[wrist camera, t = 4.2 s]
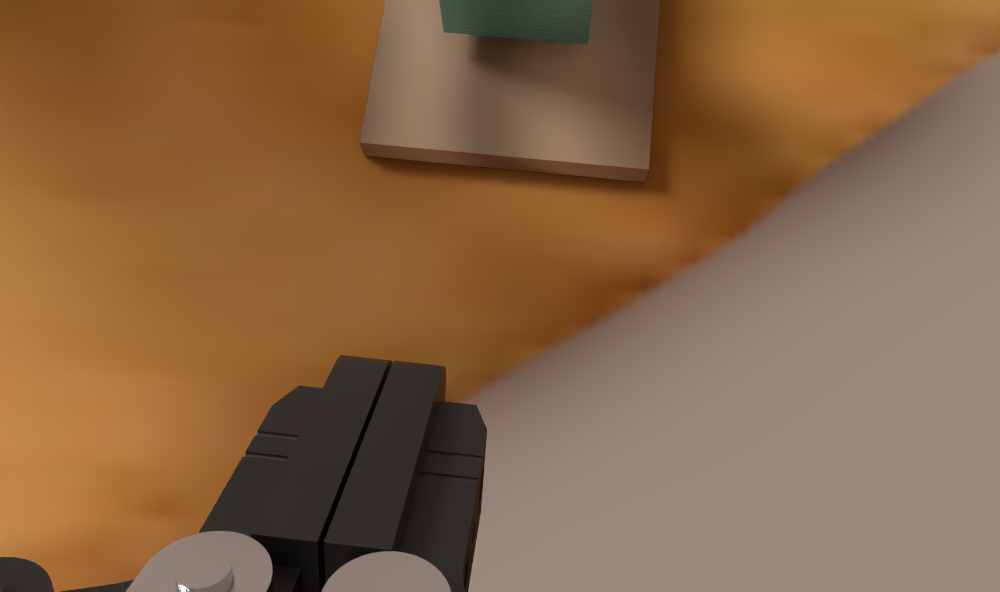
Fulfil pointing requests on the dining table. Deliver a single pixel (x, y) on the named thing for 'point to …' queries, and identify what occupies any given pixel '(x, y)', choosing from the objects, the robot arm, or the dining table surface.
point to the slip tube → (520, 19)
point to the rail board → (515, 94)
